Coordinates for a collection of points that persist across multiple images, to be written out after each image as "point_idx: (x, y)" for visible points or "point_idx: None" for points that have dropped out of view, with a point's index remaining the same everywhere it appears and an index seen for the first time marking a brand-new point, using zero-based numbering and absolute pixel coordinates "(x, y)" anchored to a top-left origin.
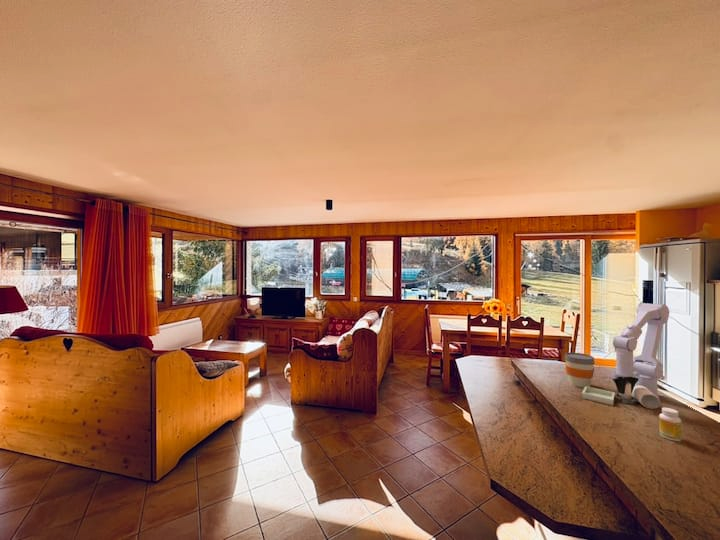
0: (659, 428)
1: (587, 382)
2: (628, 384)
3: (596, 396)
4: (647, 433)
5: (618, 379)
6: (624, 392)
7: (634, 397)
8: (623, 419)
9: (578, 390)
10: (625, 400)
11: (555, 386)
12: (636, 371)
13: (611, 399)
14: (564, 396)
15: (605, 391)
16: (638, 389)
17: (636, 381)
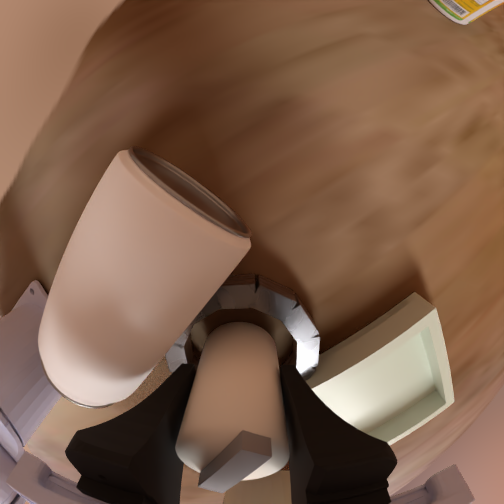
0: (479, 16)
1: (279, 491)
2: (248, 429)
3: (447, 365)
4: (494, 53)
5: (379, 483)
6: (284, 372)
7: None
8: (500, 151)
9: None
10: (307, 314)
11: None
12: (26, 500)
13: (434, 316)
14: (471, 393)
15: None
16: (130, 357)
17: (110, 432)
